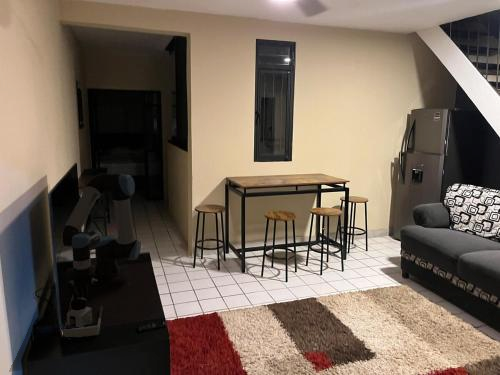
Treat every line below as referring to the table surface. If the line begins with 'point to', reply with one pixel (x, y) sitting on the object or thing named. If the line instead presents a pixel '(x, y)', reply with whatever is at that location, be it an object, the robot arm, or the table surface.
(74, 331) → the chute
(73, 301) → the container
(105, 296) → the table surface
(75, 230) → the robot arm
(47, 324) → the table surface
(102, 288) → the table surface
